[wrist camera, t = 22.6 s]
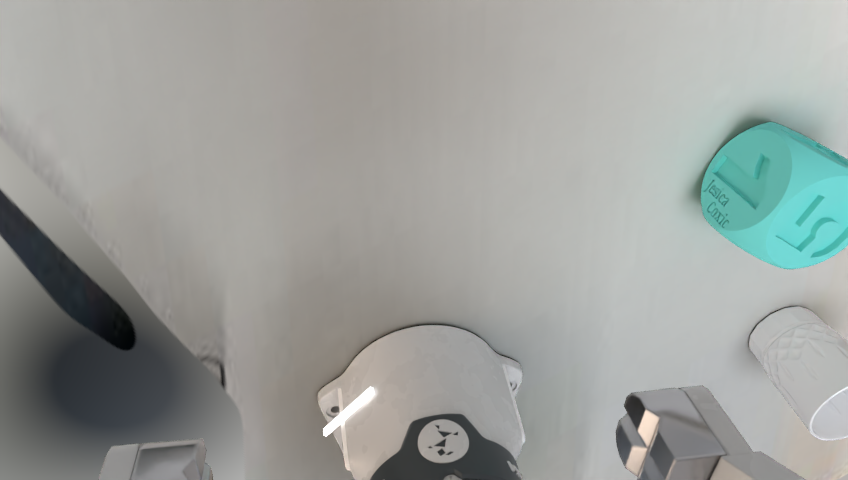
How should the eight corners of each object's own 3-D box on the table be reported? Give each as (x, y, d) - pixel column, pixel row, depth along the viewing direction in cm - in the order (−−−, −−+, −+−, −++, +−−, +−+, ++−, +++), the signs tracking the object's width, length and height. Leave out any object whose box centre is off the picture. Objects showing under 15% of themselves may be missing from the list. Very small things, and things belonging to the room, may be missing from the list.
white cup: (791, 361, 64) (863, 441, 55) (727, 358, 62) (792, 440, 53) (834, 303, 59) (918, 380, 51) (767, 298, 57) (844, 376, 49)
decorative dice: (746, 109, 45) (819, 157, 39) (819, 141, 48) (899, 191, 42) (682, 197, 49) (739, 255, 43) (754, 223, 52) (818, 281, 45)
